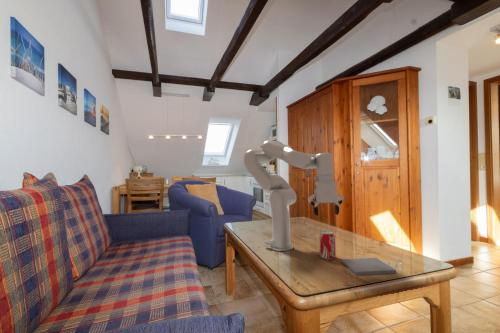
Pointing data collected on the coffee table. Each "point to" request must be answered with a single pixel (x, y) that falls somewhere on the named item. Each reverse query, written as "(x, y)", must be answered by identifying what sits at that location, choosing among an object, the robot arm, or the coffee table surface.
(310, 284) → the coffee table surface
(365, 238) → the coffee table surface
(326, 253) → the soda can
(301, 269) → the coffee table surface
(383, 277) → the coffee table surface
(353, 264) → the slate board
